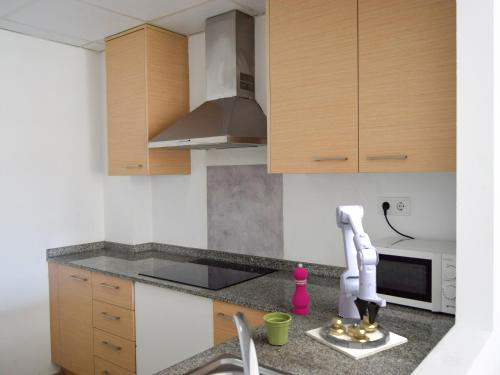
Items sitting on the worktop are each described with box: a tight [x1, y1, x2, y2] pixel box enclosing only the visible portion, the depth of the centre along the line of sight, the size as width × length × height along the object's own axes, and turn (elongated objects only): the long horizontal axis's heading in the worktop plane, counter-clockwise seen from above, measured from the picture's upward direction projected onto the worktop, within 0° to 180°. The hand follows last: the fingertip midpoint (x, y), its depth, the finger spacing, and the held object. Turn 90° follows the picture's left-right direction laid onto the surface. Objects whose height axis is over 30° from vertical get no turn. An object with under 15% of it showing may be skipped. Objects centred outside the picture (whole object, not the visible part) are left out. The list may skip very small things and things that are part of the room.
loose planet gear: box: [360, 312, 378, 331], centre depth 146 cm, size 6×6×4 cm
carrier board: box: [305, 324, 408, 361], centre depth 143 cm, size 24×24×1 cm
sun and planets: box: [329, 317, 370, 342], centre depth 142 cm, size 17×9×4 cm, turn 32°
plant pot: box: [263, 312, 292, 346], centre depth 141 cm, size 9×9×9 cm
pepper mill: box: [291, 263, 311, 316], centre depth 170 cm, size 7×7×20 cm
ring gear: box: [321, 317, 390, 349], centre depth 143 cm, size 22×22×2 cm
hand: (367, 321), depth 146 cm, fingers closed on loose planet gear, 3 cm apart
